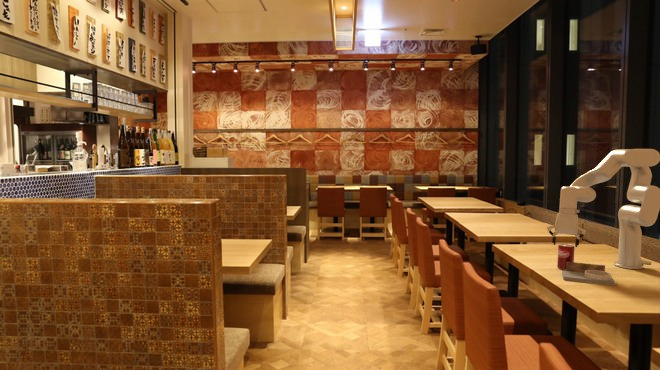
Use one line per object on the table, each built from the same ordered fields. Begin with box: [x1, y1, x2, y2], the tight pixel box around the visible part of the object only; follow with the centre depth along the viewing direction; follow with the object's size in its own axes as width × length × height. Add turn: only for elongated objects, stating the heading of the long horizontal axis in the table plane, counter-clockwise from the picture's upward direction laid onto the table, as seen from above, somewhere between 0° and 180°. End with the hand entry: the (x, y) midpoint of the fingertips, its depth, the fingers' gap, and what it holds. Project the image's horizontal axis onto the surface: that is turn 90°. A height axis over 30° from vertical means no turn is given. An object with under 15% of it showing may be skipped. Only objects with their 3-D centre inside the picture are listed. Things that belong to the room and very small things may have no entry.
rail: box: [565, 261, 606, 273], centre depth 218 cm, size 16×2×5 cm, turn 66°
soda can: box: [556, 243, 576, 271], centre depth 227 cm, size 7×7×12 cm
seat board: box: [561, 270, 616, 286], centre depth 209 cm, size 20×12×4 cm, turn 66°
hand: (565, 245), depth 227 cm, fingers open, 9 cm apart
